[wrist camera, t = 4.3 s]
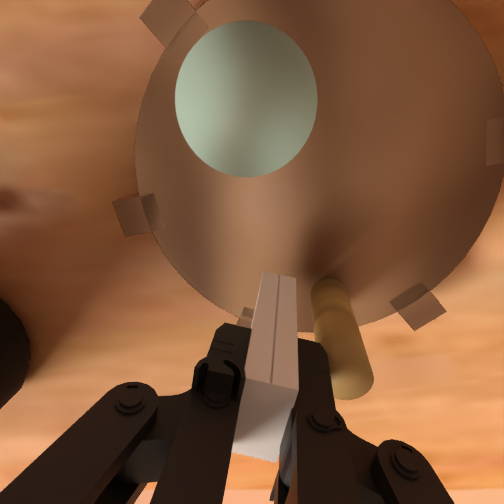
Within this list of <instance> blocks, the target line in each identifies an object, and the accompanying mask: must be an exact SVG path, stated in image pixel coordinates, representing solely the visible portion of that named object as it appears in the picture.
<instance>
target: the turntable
mask: <svg viewBox="0 0 504 504" xmlns="http://www.w3.org/2000/svg"><path fill="white" fill-rule="evenodd" d="M139 18H140V19H141V20H142V21H143V23H144V24H145V25H146V26H147V27H148V28H149V29H150V30H151V32H152V33H153V34H154V35H155V36H156V37H157V38H158V40H159V41H160V42H161V43H162V44H163V45H164V46H165V48H166V49H165V50H164V52H163V54H162V56H161V58H160V60H159V62H158V64H157V65H156V67H155V69H154V71H153V73H152V75H151V78H150V81H149V83H148V86H147V89H146V92H145V94H144V97H143V100H142V105H141V109H140V113H139V118H138V122H137V131H136V141H135V171H136V177H137V184H138V191H139V193H138V194H133V195H129V196H124V197H122V198H120V199H118V200H116V201H113V202H112V203H113V205H114V208H115V211H116V213H117V216H118V219H119V221H120V224H121V227H122V230H123V232H124V235H125V237H126V236H131V235H136V234H141V233H146V232H151V231H152V233H153V235H154V237H155V239H156V241H157V242H158V244H159V246H160V248H161V249H162V251H163V253H164V254H165V256H166V257H167V258H168V260H169V261H170V262H171V264H172V265H173V267H174V268H175V269H176V270H177V271H178V273H179V274H180V275H181V276H182V277H183V278H184V279H185V280H186V281H187V282H188V283H189V284H190V285H191V286H192V287H193V288H194V289H196V290H197V291H198V292H199V293H200V294H201V295H203V296H204V297H205V298H207V299H208V300H210V301H211V302H212V303H214V304H215V305H217V306H218V307H220V308H222V309H224V310H226V311H227V312H229V313H231V314H233V315H235V316H237V317H239V319H238V322H237V326H242V327H246V328H251V325H252V320H253V315H254V311H255V306H256V302H257V297H258V293H259V288H260V284H261V279H262V275H263V271H265V272H270V273H275V274H279V275H284V276H288V277H293V278H296V302H297V332H313V333H314V335H315V342H318V343H321V345H322V346H323V348H324V349H325V351H326V352H327V355H328V361H329V368H330V376H331V381H332V388H333V395H334V398H336V399H341V400H352V399H356V398H359V397H361V396H363V395H365V394H366V393H367V392H368V391H369V390H370V389H371V387H372V385H373V381H374V376H373V372H372V369H371V366H370V363H369V360H368V357H367V353H366V350H365V347H364V344H363V341H362V338H361V334H360V331H359V328H358V326H361V325H365V324H368V323H371V322H375V321H377V320H380V319H382V318H384V317H387V316H389V315H391V314H394V313H396V312H398V313H399V314H400V315H401V316H402V317H403V319H404V320H405V321H406V322H407V323H408V324H409V325H410V327H411V328H412V329H413V330H414V331H415V330H417V329H419V328H420V327H422V326H424V325H425V324H427V323H429V322H430V321H432V320H434V319H435V318H437V317H439V316H440V315H442V314H444V313H445V312H447V311H446V310H445V309H444V308H443V306H442V305H441V304H440V303H439V301H438V300H437V299H436V298H435V296H434V295H433V294H432V293H431V292H430V291H431V290H432V289H433V288H434V287H436V286H437V285H438V284H439V283H440V282H441V281H442V280H443V279H444V278H446V277H447V276H448V275H449V274H450V273H451V272H452V271H453V269H454V268H455V267H456V266H457V265H458V264H459V263H460V262H461V260H462V259H463V258H464V257H465V256H466V254H467V253H468V251H469V250H470V249H471V247H472V246H473V244H474V243H475V241H476V240H477V238H478V237H479V235H480V233H481V232H482V230H483V228H484V226H485V224H486V222H487V220H488V218H489V216H490V215H491V212H492V209H493V207H494V204H495V201H496V199H497V196H498V193H499V191H500V187H501V182H502V178H503V174H504V94H503V89H502V84H501V81H500V79H499V76H498V73H497V70H496V67H495V64H494V62H493V59H492V57H491V55H490V53H489V51H488V50H487V48H486V46H485V44H484V42H483V40H482V38H481V37H480V35H479V33H478V32H477V31H476V29H475V28H474V27H473V26H472V24H471V23H470V22H469V20H468V19H467V18H466V16H465V15H464V14H463V13H462V11H460V10H459V9H458V8H457V7H456V6H455V5H454V4H453V3H452V2H451V1H450V0H208V1H207V2H206V3H205V4H204V5H202V6H201V7H200V8H199V9H198V10H197V11H196V10H195V9H194V8H193V6H192V5H191V4H190V3H189V2H188V0H152V1H151V3H150V4H149V5H148V7H147V8H146V9H145V11H144V12H143V13H142V15H141V16H140V17H139Z"/></svg>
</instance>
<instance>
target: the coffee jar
mask: <svg viewBox="0 0 504 504" xmlns="http://www.w3.org/2000/svg"><path fill="white" fill-rule="evenodd" d="M29 360H30V345H29V339H28V336H27V334H26V332H25V329H24V327H23V325H22V322H21V321H20V320H19V319H18V317H17V316H16V315H15V313H14V312H13V311H12V310H11V308H10V307H9V306H8V305H7V304H6V303H5V302H4V301H2V300H1V299H0V409H1V408H2V407H3V406H4V405H5V404H6V403H7V402H8V401H9V400H10V399H11V398H12V397H13V396H14V395H15V394H16V393H17V392H18V391H19V390H20V389H21V388H22V385H23V383H24V380H25V377H26V374H27V371H28V368H29Z"/></svg>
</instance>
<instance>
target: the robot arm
mask: <svg viewBox="0 0 504 504" xmlns="http://www.w3.org/2000/svg"><path fill="white" fill-rule="evenodd" d="M231 452H234V453H238V454H242V455H246V456H250V457H255V458H259V459H263V460H267V461H272V462H277V459H278V455H279V452H280V456H279V470H278V473H277V476H276V479H275V482H274V486H273V489H272V492H271V496H270V501H273V500H274V504H454V502H453V500H452V499H451V497H450V496H449V494H448V492H447V491H446V489H445V488H444V486H443V484H442V483H441V481H440V480H439V478H438V476H437V475H436V473H435V471H434V470H433V468H432V467H431V465H430V464H429V462H428V461H427V460H426V459H425V457H424V456H423V455H422V454H421V453H420V452H418V451H417V450H416V449H415V448H414V447H412V446H410V445H408V444H406V443H404V442H402V441H398V440H393V439H391V440H386V441H383V442H382V443H381V444H380V445H379V446H378V447H377V446H375V445H373V444H371V443H369V442H367V441H365V440H363V439H361V438H359V437H358V436H356V435H355V434H353V433H352V432H351V431H349V430H348V429H347V427H346V424H345V421H344V419H343V418H342V416H341V415H340V414H339V413H338V412H337V411H336V408H335V401H334V395H333V388H332V381H331V376H330V368H329V361H328V355H327V352H326V351H325V349H324V348H323V346H322V345H321V343H318V342H314V341H309V340H305V339H300V338H297V302H296V278H293V277H288V276H284V275H279V274H275V273H270V272H265V271H263V275H262V279H261V284H260V288H259V293H258V297H257V302H256V306H255V311H254V315H253V320H252V325H251V328H246V327H242V326H237V325H233V324H228V323H224V324H223V325H222V326H220V327H219V328H218V329H217V330H216V332H215V335H214V338H213V341H212V343H211V346H210V349H209V352H208V354H207V357H205V358H203V359H202V360H200V361H199V362H198V363H197V365H196V366H195V369H194V375H193V382H192V388H191V389H190V390H188V391H187V392H185V393H182V394H179V395H172V396H158V395H157V393H156V392H155V390H154V389H153V388H152V387H150V386H149V385H147V384H144V383H140V382H127V383H123V384H120V385H117V386H116V387H114V388H113V389H111V390H110V391H108V392H107V393H106V394H105V395H104V396H103V397H102V398H101V399H100V400H99V401H98V402H96V403H95V404H94V405H93V406H92V407H91V408H90V409H89V410H88V411H87V412H86V413H85V414H84V415H83V416H82V417H80V418H79V419H78V420H77V421H76V422H75V423H74V424H73V425H72V426H71V427H70V428H69V429H68V430H67V431H66V432H64V433H63V434H62V435H61V436H60V437H59V438H58V439H57V440H56V441H55V442H54V443H53V444H52V445H51V446H50V447H48V448H47V449H46V450H45V451H44V452H43V453H42V454H41V455H40V456H39V457H38V458H37V459H36V460H35V461H34V462H32V463H31V464H30V465H29V466H28V467H27V468H26V469H25V470H24V471H23V472H22V473H21V474H20V475H19V476H17V477H16V478H15V479H14V480H13V481H12V482H11V483H10V484H9V485H8V486H7V487H6V488H5V489H4V490H3V491H1V492H0V504H134V503H135V501H136V499H137V498H138V497H139V495H140V494H141V492H142V491H143V489H144V488H145V486H146V485H147V483H148V482H157V481H158V483H157V485H156V488H155V491H154V494H153V497H152V499H151V502H150V504H222V502H223V496H224V491H225V485H226V479H227V474H228V468H229V463H230V457H231Z"/></svg>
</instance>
